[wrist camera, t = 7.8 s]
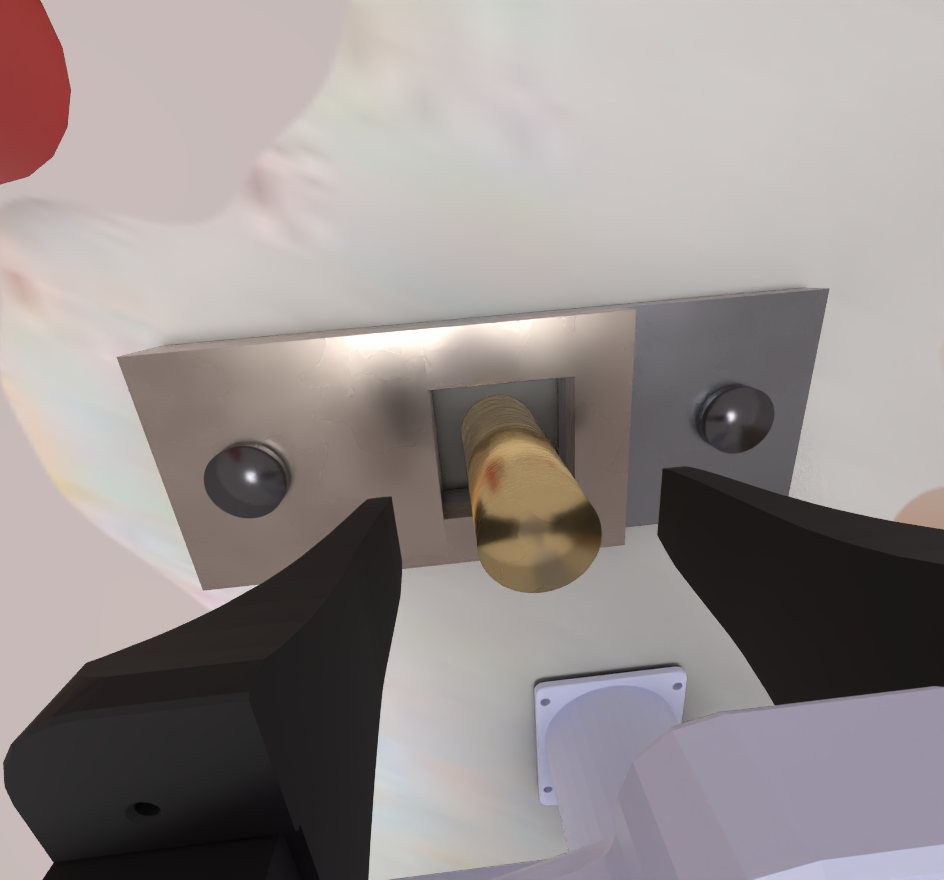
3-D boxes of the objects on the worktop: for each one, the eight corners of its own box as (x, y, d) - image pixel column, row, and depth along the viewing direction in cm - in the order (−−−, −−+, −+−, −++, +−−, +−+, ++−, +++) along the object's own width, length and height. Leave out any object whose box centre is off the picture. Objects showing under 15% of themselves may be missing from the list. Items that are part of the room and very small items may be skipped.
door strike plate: (803, 287, 17) (876, 290, 14) (766, 497, 20) (819, 533, 17) (162, 345, 16) (102, 360, 13) (231, 553, 19) (194, 601, 16)
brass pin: (532, 463, 18) (595, 589, 11) (462, 465, 18) (477, 596, 11) (535, 394, 17) (607, 482, 10) (460, 396, 17) (476, 487, 10)
